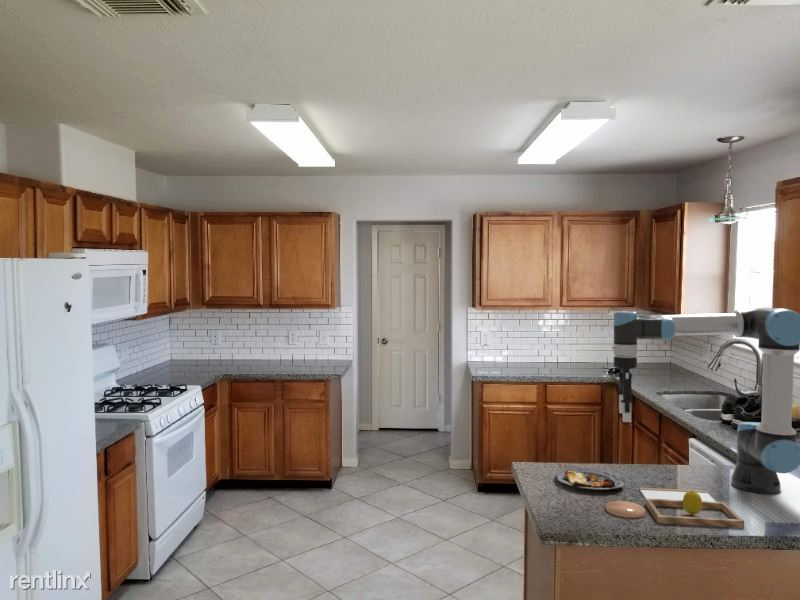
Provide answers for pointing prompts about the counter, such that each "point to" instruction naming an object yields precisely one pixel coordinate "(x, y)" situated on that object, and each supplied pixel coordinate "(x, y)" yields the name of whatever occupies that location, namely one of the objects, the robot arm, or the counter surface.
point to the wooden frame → (732, 522)
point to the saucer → (625, 509)
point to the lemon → (692, 502)
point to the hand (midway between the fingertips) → (624, 417)
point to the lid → (672, 494)
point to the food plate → (577, 479)
